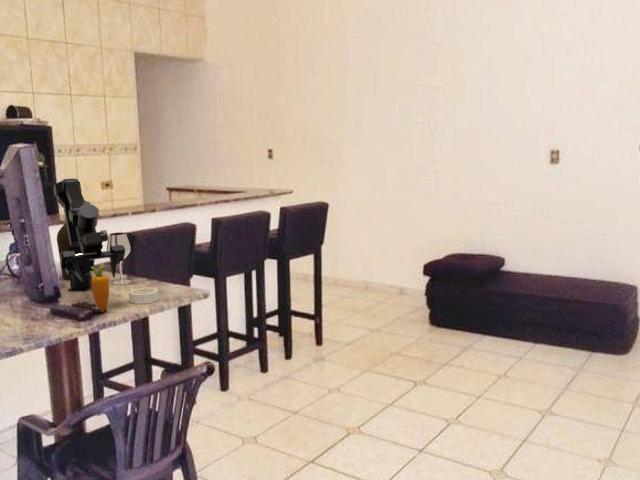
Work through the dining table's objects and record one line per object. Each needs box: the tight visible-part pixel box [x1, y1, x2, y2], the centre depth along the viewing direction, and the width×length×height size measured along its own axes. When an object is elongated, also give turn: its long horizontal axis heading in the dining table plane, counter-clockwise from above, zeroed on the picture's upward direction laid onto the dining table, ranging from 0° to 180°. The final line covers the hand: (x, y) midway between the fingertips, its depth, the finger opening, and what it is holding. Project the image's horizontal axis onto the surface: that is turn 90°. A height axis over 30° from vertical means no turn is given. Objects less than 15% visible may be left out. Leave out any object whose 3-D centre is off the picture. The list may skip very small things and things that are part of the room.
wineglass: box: [106, 231, 132, 286], centre depth 223 cm, size 8×8×18 cm
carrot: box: [91, 262, 110, 313], centre depth 186 cm, size 5×5×15 cm
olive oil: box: [56, 219, 70, 281], centre depth 232 cm, size 11×11×25 cm
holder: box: [128, 287, 160, 305], centre depth 199 cm, size 9×9×3 cm
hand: (98, 278), depth 187 cm, fingers open, 9 cm apart
